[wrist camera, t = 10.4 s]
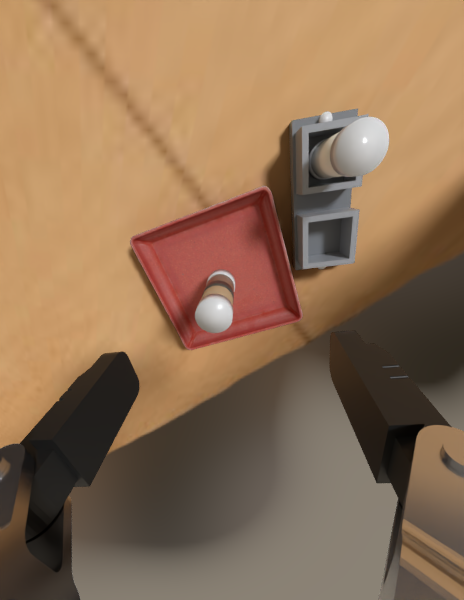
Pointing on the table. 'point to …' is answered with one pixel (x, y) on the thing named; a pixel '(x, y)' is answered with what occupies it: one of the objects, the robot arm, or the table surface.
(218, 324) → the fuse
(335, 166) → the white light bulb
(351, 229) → the block
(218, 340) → the plant saucer
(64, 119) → the table surface
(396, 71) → the table surface
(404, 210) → the table surface
